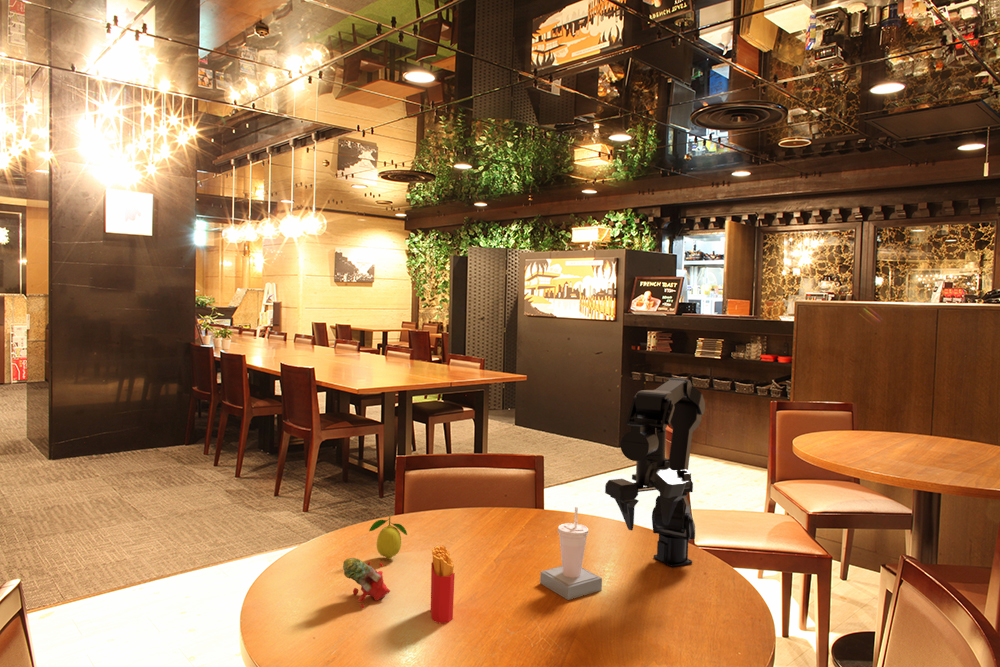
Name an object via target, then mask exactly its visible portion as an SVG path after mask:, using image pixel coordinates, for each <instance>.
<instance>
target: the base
mask: <svg viewBox="0 0 1000 667" xmlns="http://www.w3.org/2000/svg"><path fill="white" fill-rule="evenodd" d="M539 575H540V579H539V580H540V581H539V583H540V585H543V586H544V587H546V588H548V589H549V590H551V591H552V592H554V593H555V594H557V595H559V596H561V597H563V598H564V599H566V600H567V601H569V600H574V599H576V598H580V597H583V595H584V596H586V595H590V594H593V593H596V592H600V591H602V587H603V578H602V577H600V576H599V575H596V574H595V573H593V572H591V571H589V570H587V569H586V568H583V567H582V569H581V575H580V576H579V577H576V578H570V577H566V576H564V575H563V570H562V565H561V566H556V567H553V568H548V569H545V570H541V571H540V574H539ZM573 598H574V599H573Z"/></svg>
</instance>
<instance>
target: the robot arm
mask: <svg viewBox="0 0 1000 667" xmlns="http://www.w3.org/2000/svg"><path fill="white" fill-rule="evenodd" d="M705 412H706V401H705V398H704V395H703V393H702V392H701V391H700V390H698V389H697V388H696V387H695V386H693V384H692V382H691V380H690V379H687V378H678V377H670V378H667V379H666V382H664V383H663V384H661V385H660V386H659V387H657V388H656V389H646V390H645V389H644V390H639V391H637V393H636V394H635V395H634V396H633V398H632V401H631V405H630V408H629V411H628V415H627V418H626V425H627V426H628V425H629V426H630V431H629V432H626V433H625V434H624V435H623V437H622V438H621V441H620V446H619V447H620V450H621V453H622V454H623V455H624V456H625V458H627V459H628V460H630V461H632V462H636V464H635V465H636V468H635V471H636V472H635V473H633V474H632V475H631V480H633V481H635V482H631V481H629V480H626V479H624V478H615V479H609V480H607V482H605V486H604V487H605V488H604V489H605V490H604V493H605V494H607V495H609V496H610V498H612V499H614V500H615V502H616V504H617V506H618V508H619V510H620V513H621V514H622V518H623V520H624V522H625V526H626V527H627V529H628V530H629V531H633V530H634V525H635V507H636V505H637V504H638V502H639V499H636V498H637V497H638V495H639V493H641V492H648V491H649V492H651V491H658V492H659V495H658V496H656V498H655V506H654V507H653V509H652V512H651V524H652V533H653V534H658V540H657V545H656V546H657V548H656V554H653V558H654V559H655V560H658V561H659V562H661V563H663V564H664V565H667V566H669V567H671V568H674V567H675V568H676V567H680V566H684V565H689V564H690V565H691V564H693V560H692V559H691V558H690V559H689V555H688V554H689V541H691V540H695V539H696V525H695V524H696V523H695V521H694V519H693V514H692V513H691V510H692V509H691V508H692V506H691V505H690V502H689V500H688V498H687V497H688V495H689V493H693V490H694V482H693V480H692V473H691V471H689V465H690V456H691V447H692V440H693V439H692V438H693V433H694V431H696V429H697V428H698V427H699V426H700V424H701V423H702V418H703V417H702V416H704V414H705ZM668 426H671V427H672V431H671V432H672V433H671V442H670V448H669V449H670V450H669V457H668V458H666V444H667V443H666V442H667V440H666V437H667V435H666V434H667V430H666V429H667V428H668Z"/></svg>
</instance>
